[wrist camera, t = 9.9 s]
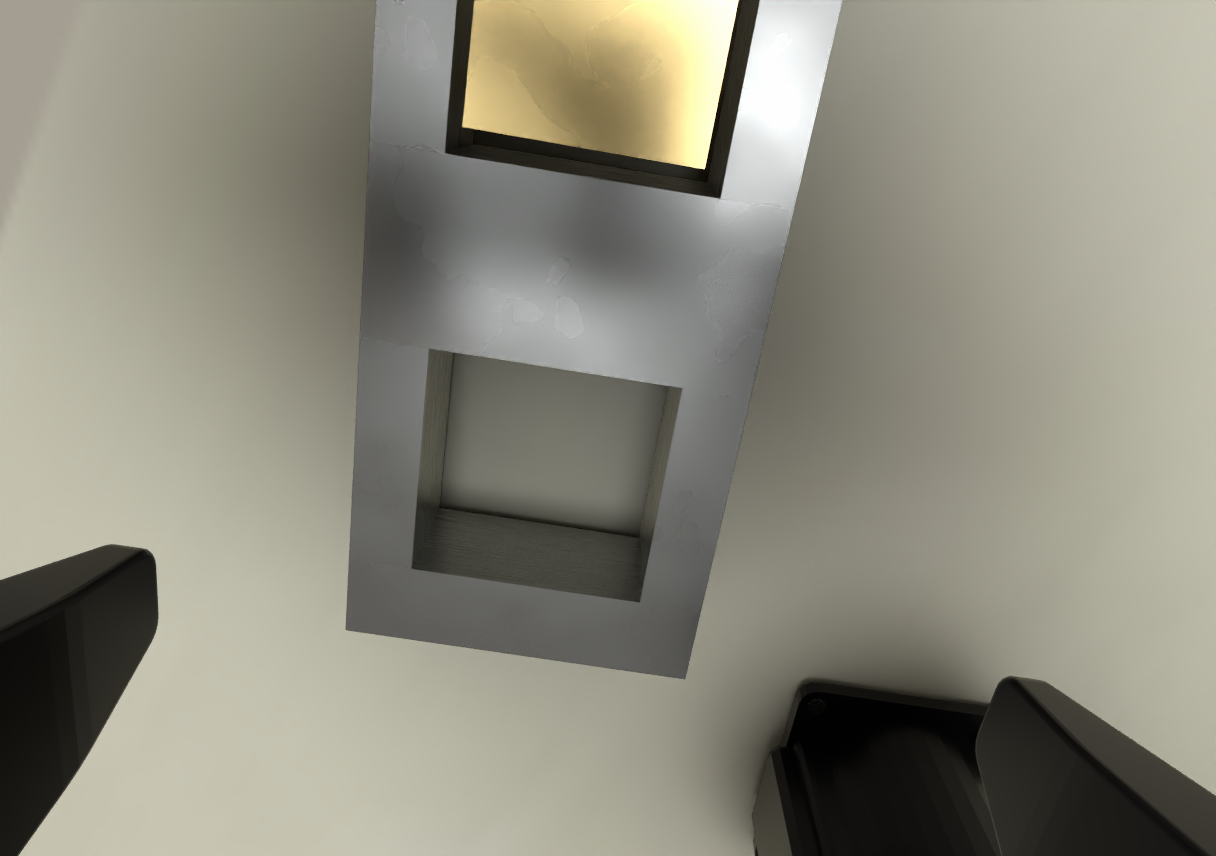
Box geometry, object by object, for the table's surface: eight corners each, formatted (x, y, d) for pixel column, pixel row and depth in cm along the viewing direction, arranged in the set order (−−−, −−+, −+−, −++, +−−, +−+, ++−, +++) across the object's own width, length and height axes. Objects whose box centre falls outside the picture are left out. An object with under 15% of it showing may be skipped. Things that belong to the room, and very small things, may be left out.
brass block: (726, -58, 17) (760, -111, 12) (686, 148, 19) (705, 168, 14) (529, -94, 17) (489, -163, 12) (505, 117, 18) (462, 126, 14)
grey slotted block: (853, -188, 16) (899, -246, 13) (678, 607, 23) (684, 679, 20) (434, -264, 16) (392, -338, 13) (380, 563, 23) (345, 630, 20)
